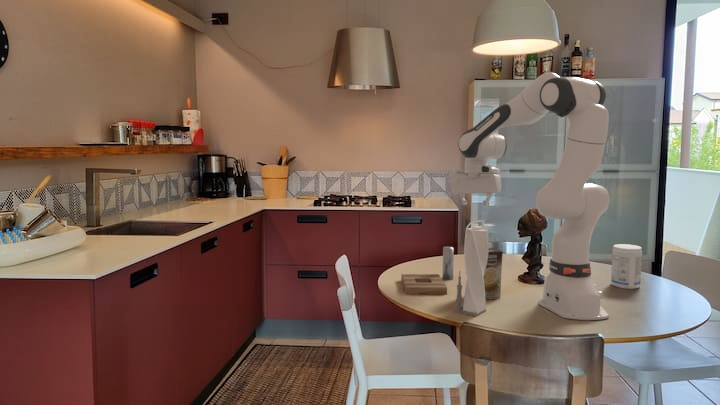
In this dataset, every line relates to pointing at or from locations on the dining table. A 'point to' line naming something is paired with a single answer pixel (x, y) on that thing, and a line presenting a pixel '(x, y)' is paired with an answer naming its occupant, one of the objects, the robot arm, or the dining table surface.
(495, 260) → the coffee box
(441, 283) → the slot plate
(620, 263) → the supplement tub
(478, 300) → the skyscraper
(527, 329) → the dining table surface
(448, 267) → the steel pin
